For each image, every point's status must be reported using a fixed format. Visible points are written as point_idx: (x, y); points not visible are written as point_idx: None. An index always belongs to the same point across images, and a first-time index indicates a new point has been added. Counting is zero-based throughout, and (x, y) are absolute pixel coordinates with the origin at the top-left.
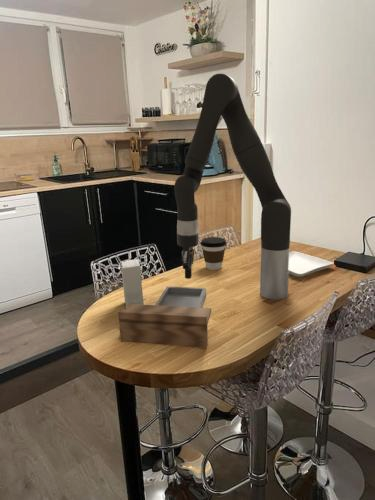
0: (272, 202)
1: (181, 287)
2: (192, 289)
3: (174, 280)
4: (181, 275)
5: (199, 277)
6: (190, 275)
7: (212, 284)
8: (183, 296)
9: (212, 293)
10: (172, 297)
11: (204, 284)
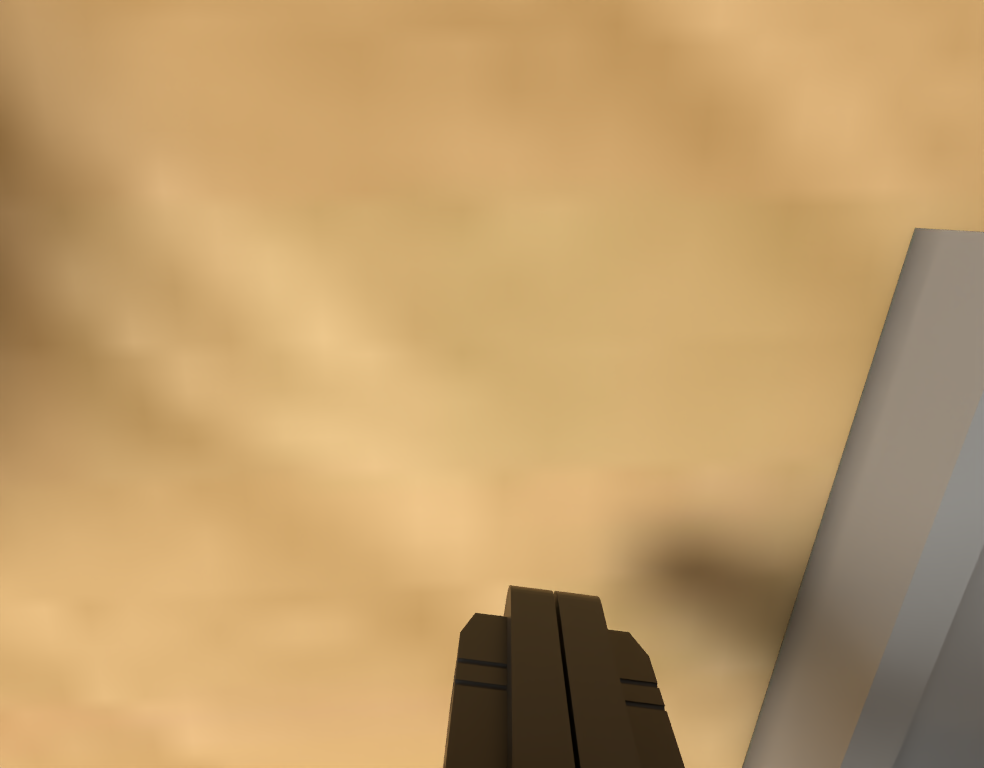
0: None
1: (887, 697)
2: (979, 506)
3: (231, 716)
4: (9, 638)
5: (42, 361)
6: (610, 645)
7: (364, 108)
8: (964, 593)
9: (809, 108)
10: (963, 728)
11: (370, 265)
